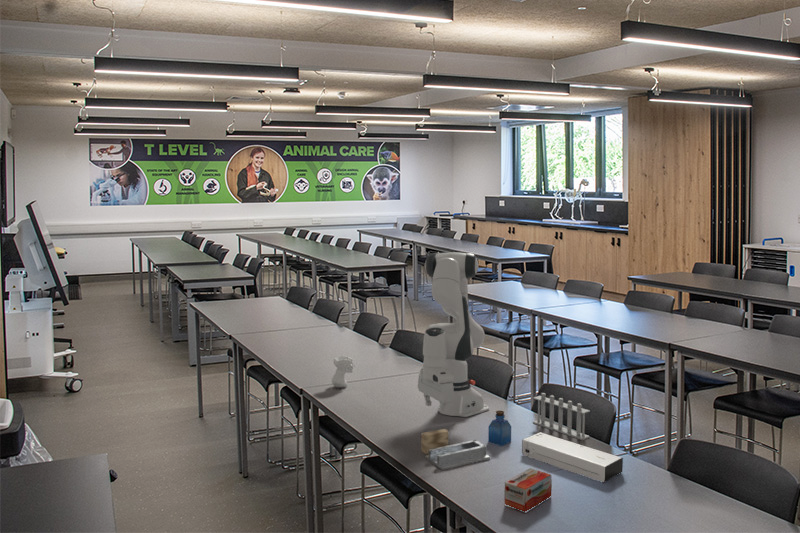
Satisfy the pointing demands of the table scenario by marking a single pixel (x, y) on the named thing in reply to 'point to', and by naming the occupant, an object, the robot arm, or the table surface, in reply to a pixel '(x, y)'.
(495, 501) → the table surface
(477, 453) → the floor track
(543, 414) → the test tube rack
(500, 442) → the perfume bottle
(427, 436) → the tan wooden block
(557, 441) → the laminator
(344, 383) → the white lumpy upright piece
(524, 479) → the medicine box
